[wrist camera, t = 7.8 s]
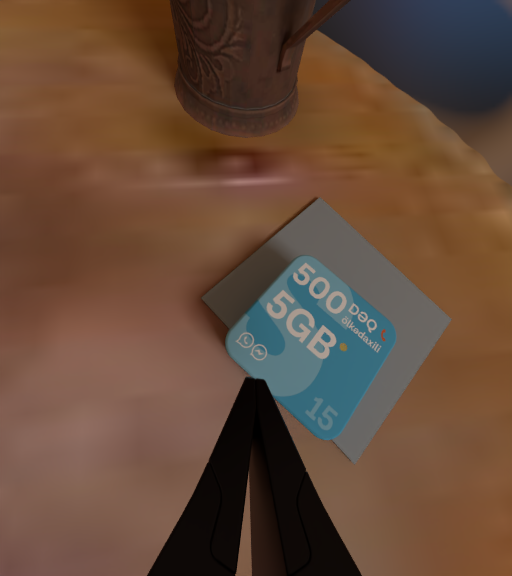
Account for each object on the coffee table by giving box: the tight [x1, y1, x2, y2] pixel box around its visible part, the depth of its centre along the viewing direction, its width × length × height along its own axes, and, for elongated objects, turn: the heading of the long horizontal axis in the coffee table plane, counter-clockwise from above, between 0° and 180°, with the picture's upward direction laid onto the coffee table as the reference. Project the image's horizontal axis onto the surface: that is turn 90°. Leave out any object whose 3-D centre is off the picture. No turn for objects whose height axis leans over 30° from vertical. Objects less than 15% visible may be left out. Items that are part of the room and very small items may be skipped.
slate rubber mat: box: [201, 197, 452, 464], centre depth 24 cm, size 22×20×1 cm
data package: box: [225, 255, 396, 440], centre depth 20 cm, size 12×4×12 cm
